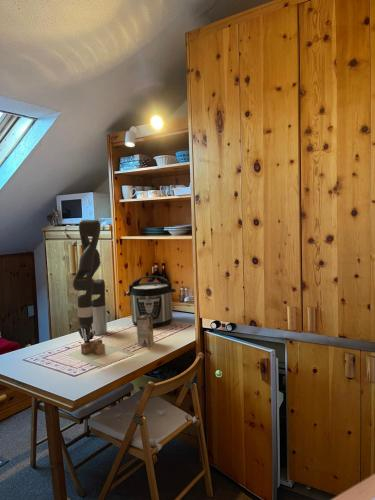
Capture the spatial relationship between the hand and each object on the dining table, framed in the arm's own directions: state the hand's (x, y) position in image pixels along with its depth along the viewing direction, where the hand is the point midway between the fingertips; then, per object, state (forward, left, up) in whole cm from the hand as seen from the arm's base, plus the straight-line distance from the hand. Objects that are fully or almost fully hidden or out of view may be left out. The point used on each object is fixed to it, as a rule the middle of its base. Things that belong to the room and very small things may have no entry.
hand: (87, 347), depth 201 cm
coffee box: (+18, +25, -3) cm, 31 cm away
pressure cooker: (-11, +59, -3) cm, 60 cm away
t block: (+8, 0, -2) cm, 8 cm away
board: (+11, 0, -3) cm, 11 cm away
